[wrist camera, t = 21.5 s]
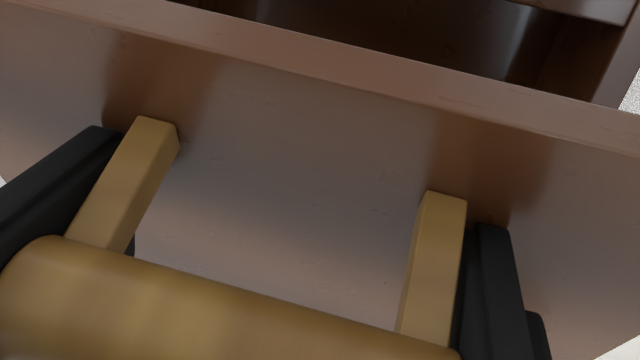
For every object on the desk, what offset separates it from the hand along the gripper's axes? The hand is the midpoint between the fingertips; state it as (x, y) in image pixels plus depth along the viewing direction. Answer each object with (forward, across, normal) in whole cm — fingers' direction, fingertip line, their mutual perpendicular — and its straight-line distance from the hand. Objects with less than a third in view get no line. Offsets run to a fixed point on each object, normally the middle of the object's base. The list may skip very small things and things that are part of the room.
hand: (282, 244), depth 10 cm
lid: (+3, 0, +4) cm, 5 cm away
